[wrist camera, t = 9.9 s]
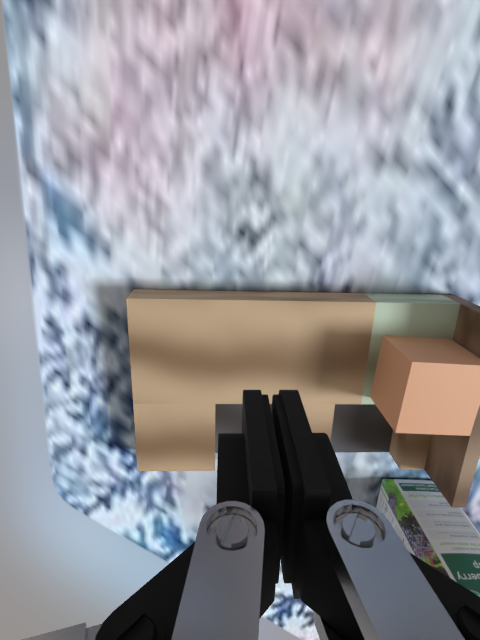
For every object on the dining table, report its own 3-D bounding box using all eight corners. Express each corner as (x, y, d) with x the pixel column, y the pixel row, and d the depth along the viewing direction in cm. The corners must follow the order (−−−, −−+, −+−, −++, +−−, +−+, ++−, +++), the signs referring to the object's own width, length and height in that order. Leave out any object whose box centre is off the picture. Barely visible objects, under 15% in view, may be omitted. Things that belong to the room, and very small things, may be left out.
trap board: (134, 289, 28) (109, 317, 22) (454, 294, 29) (515, 322, 23) (143, 450, 33) (125, 511, 27) (421, 449, 34) (465, 507, 28)
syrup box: (442, 478, 35) (584, 664, 21) (427, 528, 37) (549, 729, 23) (380, 476, 35) (484, 665, 21) (369, 527, 37) (457, 731, 23)
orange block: (382, 335, 28) (412, 361, 23) (450, 338, 28) (491, 365, 24) (370, 397, 29) (395, 432, 25) (434, 400, 29) (470, 435, 25)
